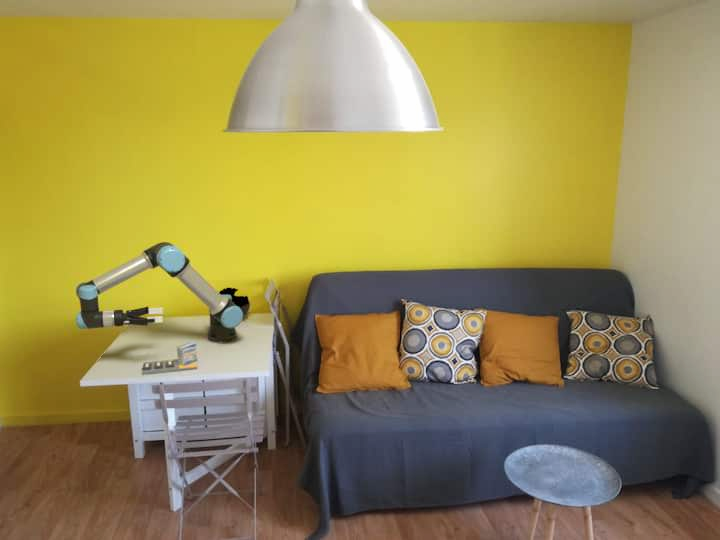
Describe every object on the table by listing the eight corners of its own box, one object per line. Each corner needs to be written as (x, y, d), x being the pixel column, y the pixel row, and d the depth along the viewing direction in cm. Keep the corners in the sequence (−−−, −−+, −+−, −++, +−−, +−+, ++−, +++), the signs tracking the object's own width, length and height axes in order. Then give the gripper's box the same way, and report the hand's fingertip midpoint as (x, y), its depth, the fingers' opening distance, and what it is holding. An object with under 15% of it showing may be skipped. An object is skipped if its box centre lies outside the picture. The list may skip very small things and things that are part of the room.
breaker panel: (196, 359, 295) (196, 353, 294) (197, 369, 283) (197, 363, 282) (143, 364, 288) (143, 358, 288) (142, 375, 276) (141, 368, 275)
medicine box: (184, 366, 283) (182, 348, 281) (177, 363, 286) (176, 346, 284) (197, 360, 289) (196, 343, 287) (191, 358, 292) (190, 341, 290)
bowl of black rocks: (235, 313, 366) (233, 282, 362) (258, 319, 354) (256, 288, 350) (208, 321, 351) (206, 289, 347) (230, 328, 339) (228, 295, 335)
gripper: (117, 317, 292) (163, 314, 298) (112, 335, 269) (163, 330, 274) (115, 302, 290) (162, 299, 296) (110, 318, 267) (161, 314, 273)
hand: (163, 314), depth 285 cm, fingers open, 13 cm apart
